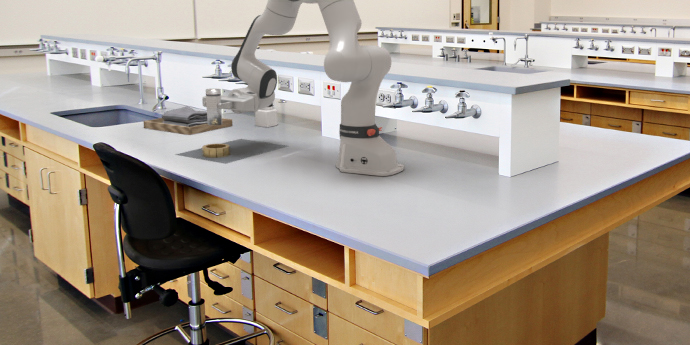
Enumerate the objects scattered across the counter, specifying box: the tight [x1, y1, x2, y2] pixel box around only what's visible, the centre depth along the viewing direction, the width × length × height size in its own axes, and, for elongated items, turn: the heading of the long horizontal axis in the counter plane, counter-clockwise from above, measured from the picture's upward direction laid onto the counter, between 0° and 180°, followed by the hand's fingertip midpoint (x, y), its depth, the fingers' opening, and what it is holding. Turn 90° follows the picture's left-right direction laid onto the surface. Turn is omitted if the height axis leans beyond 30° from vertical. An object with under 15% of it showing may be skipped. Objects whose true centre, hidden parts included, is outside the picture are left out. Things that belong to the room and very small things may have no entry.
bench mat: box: [175, 138, 288, 165], centre depth 224 cm, size 24×34×1 cm
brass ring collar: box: [201, 143, 230, 158], centre depth 216 cm, size 9×9×3 cm
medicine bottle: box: [254, 102, 278, 128], centre depth 274 cm, size 7×7×12 cm
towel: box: [161, 105, 207, 127], centre depth 273 cm, size 15×18×8 cm
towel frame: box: [142, 117, 233, 136], centre depth 271 cm, size 28×25×3 cm
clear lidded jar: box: [205, 88, 223, 125], centre depth 212 cm, size 5×5×12 cm
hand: (212, 105), depth 211 cm, fingers closed on clear lidded jar, 5 cm apart
